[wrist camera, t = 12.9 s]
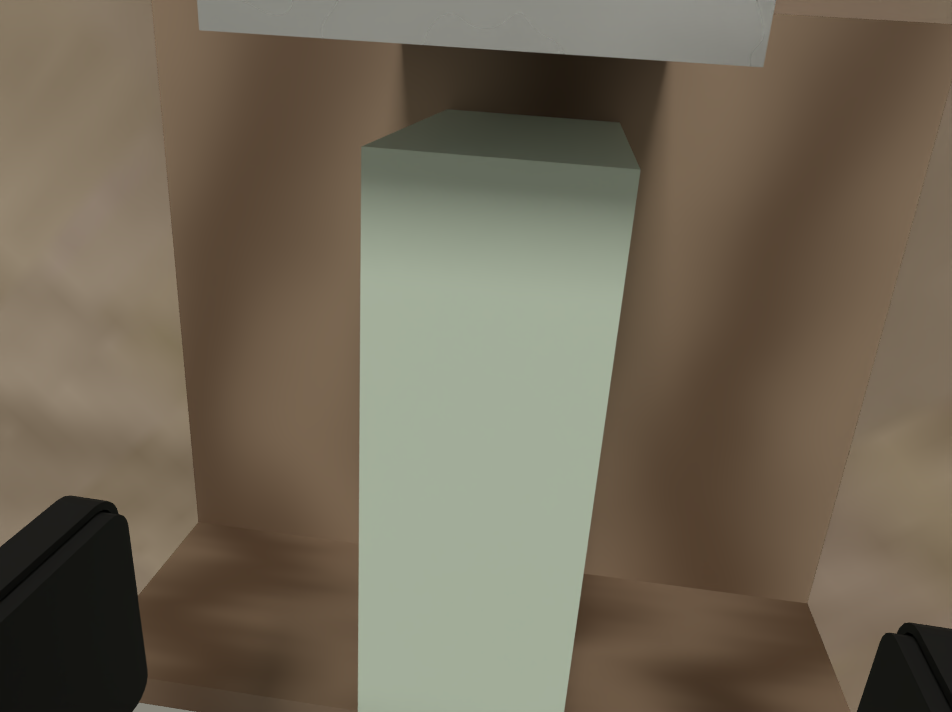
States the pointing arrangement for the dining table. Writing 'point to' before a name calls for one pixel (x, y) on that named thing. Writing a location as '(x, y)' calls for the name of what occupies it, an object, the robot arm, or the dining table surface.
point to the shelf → (638, 339)
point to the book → (483, 401)
